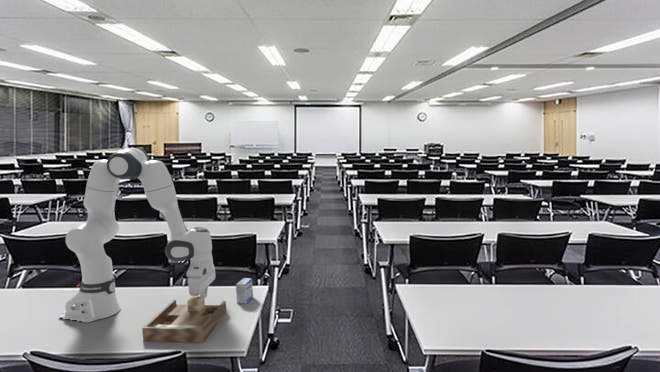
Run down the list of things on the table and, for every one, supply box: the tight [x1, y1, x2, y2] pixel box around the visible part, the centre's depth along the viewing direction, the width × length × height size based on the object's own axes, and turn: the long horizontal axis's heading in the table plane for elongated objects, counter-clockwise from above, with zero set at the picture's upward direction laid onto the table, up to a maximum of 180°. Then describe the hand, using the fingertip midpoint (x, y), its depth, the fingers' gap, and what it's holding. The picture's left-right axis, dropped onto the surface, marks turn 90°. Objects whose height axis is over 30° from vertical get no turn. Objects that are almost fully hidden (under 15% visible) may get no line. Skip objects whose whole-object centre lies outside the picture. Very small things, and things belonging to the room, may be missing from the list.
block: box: [186, 296, 206, 311], centre depth 176 cm, size 5×5×4 cm
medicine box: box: [235, 277, 254, 305], centre depth 191 cm, size 8×4×9 cm, turn 168°
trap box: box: [141, 299, 227, 344], centre depth 167 cm, size 22×25×5 cm
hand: (204, 297), depth 184 cm, fingers closed
